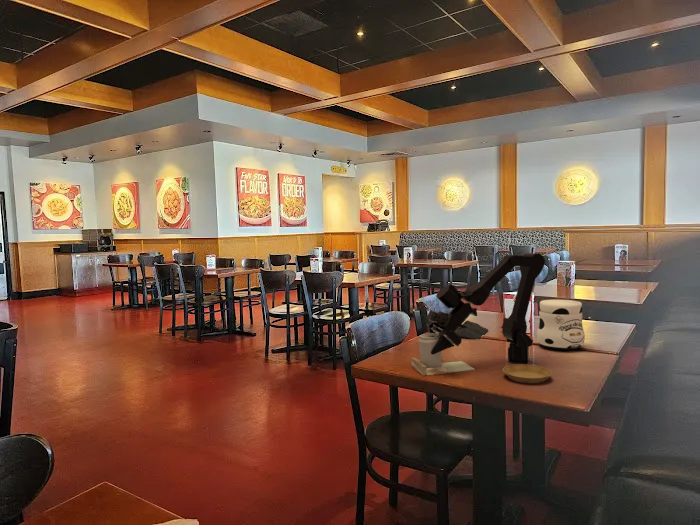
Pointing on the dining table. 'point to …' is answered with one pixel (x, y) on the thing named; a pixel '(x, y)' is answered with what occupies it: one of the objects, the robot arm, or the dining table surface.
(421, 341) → the can
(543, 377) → the plant saucer
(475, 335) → the dark slate chunk
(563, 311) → the milk container
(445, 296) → the robot arm
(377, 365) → the dining table surface
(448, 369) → the mat
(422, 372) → the shelf lane
